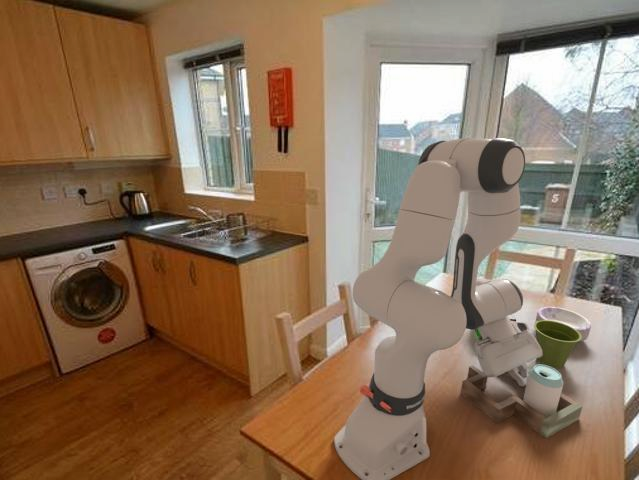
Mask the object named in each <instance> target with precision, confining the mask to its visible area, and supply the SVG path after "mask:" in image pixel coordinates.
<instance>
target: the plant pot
mask: <svg viewBox="0 0 639 480" xmlns="http://www.w3.org/2000/svg"><path fill="white" fill-rule="evenodd" d="M533 327H534V329H535V334H536V340H537V342H538V344H539V345H540V347H541V349H542V354H543V355H542V356H541V357H539V358H537V361H538V362H539V363H542V365H547V366H550V367H552V368H554V369H561V368H564V367H565V364H566V363H567V362H568V359H569V358H570V356H571V353H572V351H573V349H574V348H575V347H576V346H577V344H578V341H580V340H581V338H582V336H581V334H580V333H579V332H578V331H577V330H576V329H574V328H572V327H570V326H568V325H566V324H563V323H560V322H556V321H551V320H540V321H537V322H534V323H533Z"/></svg>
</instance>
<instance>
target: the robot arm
mask: <svg viewBox="0 0 639 480" xmlns="http://www.w3.org/2000/svg"><path fill="white" fill-rule="evenodd" d="M525 166H526V156H525V152H524V150H523V149H522V147H521V146H520V144H519V143H518V142H517V141H515V140H512V139H508V138H501V137H495V138H470V137H466V138H465V137H464V138H456V139H450V140H439V141H436V142H434V143H431V144H430V145H428V146H427V147H425V149H424V150H423V151H422V153H421V154H420V158H419V159H418V164H417V166H416V167H415V168H414V170H413V172H412V174H411V176H410V179H409V180H408V183H407V185H406V189H405V190H404V193H403V197H402V201H401V204H400V208H399V210H398V214H397V219H396V224H395V227H394V230H393V234H392V238H391V240H390V243H389V245H388V247H387V249H386V251H385V253H384V254H383V256H381V258H380V259H379V261H378V262H376V263H375V264H374V265H373V266H371V267H369V268H367V269H365V270H363V271H362V272H361V273H360V274H359V275H358V276H356V277H357V278H356V279H355V281H354V283H353V285H352V299H353V302H354V303H355V305H356V306H358V308H360V309H361V310H362V311H363V312H364V313H365V314H367V315H368V316H369V317H371V318H373V319H375V320H377V321H379V322H380V323H383V324H384V325H386V326H388V327H389V328H391V329H393V331H394V332H395V335H392V336H388V337H385V338H384V339H382V340H381V341H380V342H379V344H378V345H377V346H376V349H375V352H374V372H373V374H372V375H371V378H370V383H369V386H367V385H366V384H362V386H361V387H360V389H359V393H360V394H361V395H363V397H362V398H361V400H360V401H359V403H358V404H357V405H356V406H355V408H354V410H353V411H352V413H351V414H350V416H349V417H347V419H346V422H345V425H344V426H343V427H341V429H340V430H339V431H338V432H337V433H336V434H335V436H334V439H333V444H334V448H335V451H336V453H337V454H338V456H339V457H340V459H341V460H342V462H343V463H344V464H345V465H346V466H347V468H348V469H350V470H351V472H352V473H353V474H355V475H356V476H357V477H358V478H359V479H361V480H392V479H393V478H395V477H397V476H398V475H400V474H402V473H403V472H406V471H407V470H409V469H411V468H412V467H414V466H417V465H418V464H419V463H421V462H423V461H425V460H427V459H428V458H429V457H430V455H431V453H430V452H431V451H430V446H429V445H428V442H427V418H426V417H427V416H426V413H425V409H424V402H425V396H426V383H425V374H426V370H427V369H426V368H427V364H428V360H429V358H430V357H431V356H432V355H433V354H434V353H435V352H438V351H441V350H442V351H443V350H446V349H449V348H451V347H453V346H455V345H456V344H458V342H460V340H461V339H462V338H463V337H464V334H465V333H466V329H467V330H471V331H475V329H478V328H479V329H478V331H479V332H480V334H481V336H482V338H483V339H482V340H476V342H475V345H474V347H473V348H474V351H475V354H476V357H477V360H478V364H479V365H480V368H481V371H482V372H483V373H484V375H486V376H487V377H488V378H495V377H498V376H500V375H503V374H504V373H505V372H508V373H509V375H511V376H512V377H513V378H514V379H515V380H517V382H516V383H517V384H518V386H519V387H524V386H525V385H527V380H528V375H529V373H528V372H529V367H528V365H527V364H528V363H530V362H532V361H534V360H536V359H537V358H539V357H541V356H542V355H543V354H542V349H541V347H540V345H539V344H538V342H537V338H536V337H535V335H534V334H533V333H532V332H531V331H530V327H529V325H528V324H527V322H523V321H516V322H515V321H510V319H509V317H508V316H509V315H511V314H512V315H513V314H515V313H517V312H519V311H521V309H522V307H523V306H524V295H523V293H522V291H521V290H520V288H519V286H518V285H516V284H515V283H514V282H513V281H512V280H510V279H507V278H499V279H488V278H485V277H484V276H478V274H479V273H478V271H479V268H480V266H481V264H482V263H483V261H484V260H485V259H486V258H487V257H489V255H490V254H492V253H493V252H494V251H496V250H497V249H499V247H502V246H503V245H504V244H507V242H509V241H510V240H511V239H512V238H513V237H514V236H515V234H516V233H518V230H519V227H520V224H521V218H522V215H521V213H522V211H521V194H520V188H519V187H520V186H519V182H520V181H521V179H522V177H523V175H524V172H525V168H526V167H525ZM461 192H463V193H467V220H466V225H465V227H464V230H463V232H462V234H461V235H460V237H459V238H458V239H457V242H456V246H455V252H454V253H455V254H454V255H455V256H454V265H453V268H454V269H453V276H452V277H453V278H452V291H451V294H450V295H449V294H447V293H445V292H443V291H442V290H439V289H437V288H434V287H432V286H429V285H426V284H423V283H421V282H417V281H415V279H416V276H417V273H418V272H419V270H420V269H421V268H422V267H426V266H431V265H434V264H437V263H438V262H440V261H441V260H442V259H444V257H445V256H446V254H447V253H448V248H449V244H450V240H451V237H452V233H453V229H454V226H455V221H456V217H457V214H458V207H459V202H460V197H461V196H460V194H461ZM537 360H538V359H537ZM518 370H520V372H521V375H520V374H519V373H518V372H519V371H518ZM488 378H487V379H488ZM515 380H514V381H515Z"/></svg>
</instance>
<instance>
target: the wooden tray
mask: <svg viewBox="0 0 639 480" xmlns="http://www.w3.org/2000/svg"><path fill="white" fill-rule="evenodd" d="M467 371H468V373H467V378H466V379H465V380H462V384H461V390H460V394H461V395H463V396H464V398H466V399H467V400H468V401H470V402H471V403H472V404H473V405H474V406H476V407H477V408H478V409H479V410H481V412H483V414H486V415H487V417H489V418H490V419H491V420H492V421H493V422H495V423H496V424H497V423H499V422H501V421H503V420H505V419H507V418H509V417H510V416H512V415H515V416H516V417H517V418H519V419H520V420H521V421H523V422H524V423H525V424H527V425H528V426H529V427H530V428H531V429H533V430H534V431H535V432H537V433H538V434H540V435H541V436H542V437H543V438H545V439H549V438H551V437H552V436H554V434H557V433H558V432H560V431H562V430H563V429H565V428H567V427H568V426H570V425H572V424H573V423H574V422H577V421H578V420H580V417H581V413H582V409H583V405H581V404H580V403H578V402H577V401H576V400H573V399H572V398H570V397H569V396H567V395H566V394H564V393H562V392H561V395H560V399H559V403H558V407H557V410H558V411H556V413H555V414H553V415H552V416H550V417H548V418H546V417H545V416H543V415H542V414H541V413H539V412H538V411H536V410H535V409H534V408H532V407H531V406H529V405H528V404H527V403H525V402H524V401H523V399H521V398H519V397H518V396H517V395H513V396H510V397H508V398H506V399H504V400H502V401H500V402H497V401H495V400H494V399H493V398H492V397H490V396H489V395H487V394H486V393H485V392H483V391H482V390H484V389H485V388H487V382H488V377H487V376H486V375H484V373H483V371H482V370H481V369H479V368H478V367H476V366H475V365H473V364H472V365H469V366H468V370H467ZM518 371H519V372H518V373H519V374H520V375H521V372H520V370H518ZM528 373H529V371H528ZM503 374H504V375H506V376H507V377H509V378H510V379H512V380H513V381H515V382H516V383H518V382H517V380H515V379H514V378H513V377H512V376H511V375H509V373H508V372H505V373H503ZM523 387H524V388H525V389H526V385H525V386H523Z"/></svg>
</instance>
